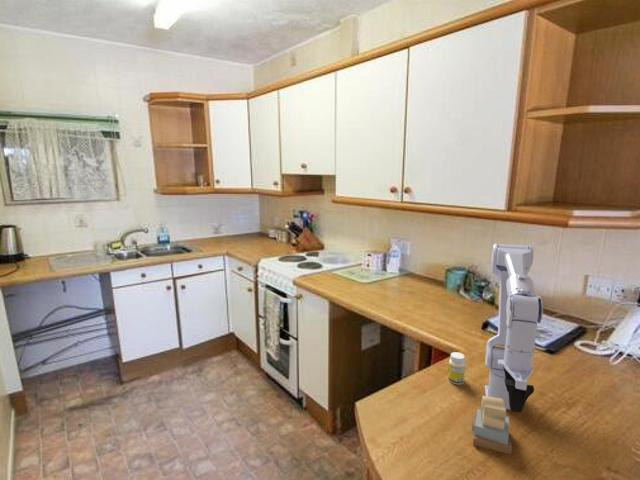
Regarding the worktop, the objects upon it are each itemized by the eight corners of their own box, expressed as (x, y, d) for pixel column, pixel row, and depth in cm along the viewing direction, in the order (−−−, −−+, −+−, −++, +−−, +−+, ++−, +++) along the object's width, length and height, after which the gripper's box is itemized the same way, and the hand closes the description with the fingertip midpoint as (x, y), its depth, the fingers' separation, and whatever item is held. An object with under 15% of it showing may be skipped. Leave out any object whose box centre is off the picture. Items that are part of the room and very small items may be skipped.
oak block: (480, 413, 89) (482, 395, 88) (500, 417, 88) (502, 399, 87) (482, 425, 85) (484, 406, 84) (503, 430, 83) (506, 410, 82)
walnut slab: (471, 425, 92) (472, 416, 92) (506, 433, 90) (507, 424, 89) (472, 447, 85) (473, 438, 84) (510, 456, 82) (512, 447, 82)
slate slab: (476, 417, 92) (477, 408, 91) (508, 426, 88) (509, 417, 88) (474, 435, 85) (475, 425, 85) (507, 445, 82) (508, 435, 82)
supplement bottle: (450, 374, 114) (452, 349, 113) (466, 379, 111) (468, 354, 110) (445, 381, 111) (447, 355, 109) (461, 387, 108) (463, 361, 106)
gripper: (497, 330, 90) (492, 380, 93) (502, 358, 77) (496, 415, 79) (529, 335, 88) (523, 386, 90) (541, 365, 74) (533, 423, 77)
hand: (513, 400), depth 85 cm, fingers open, 7 cm apart
